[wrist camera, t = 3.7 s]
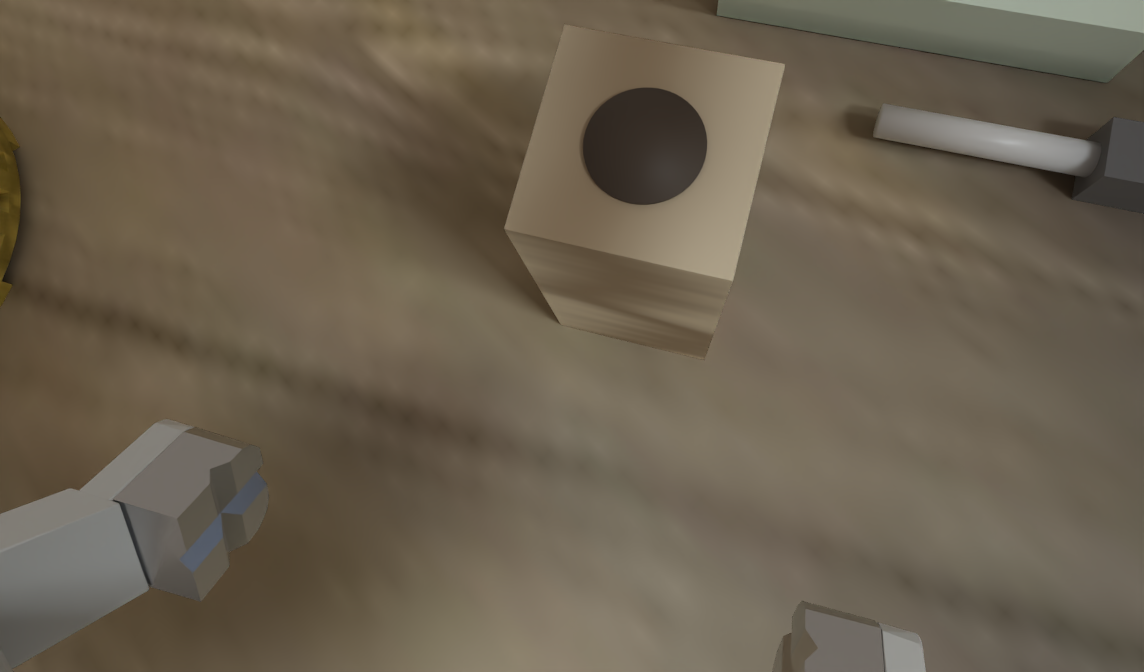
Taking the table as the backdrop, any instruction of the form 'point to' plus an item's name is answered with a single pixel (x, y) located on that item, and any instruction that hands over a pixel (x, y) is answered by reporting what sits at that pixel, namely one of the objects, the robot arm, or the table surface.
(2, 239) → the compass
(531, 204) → the bored block
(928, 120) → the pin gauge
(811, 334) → the table surface
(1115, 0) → the tray
